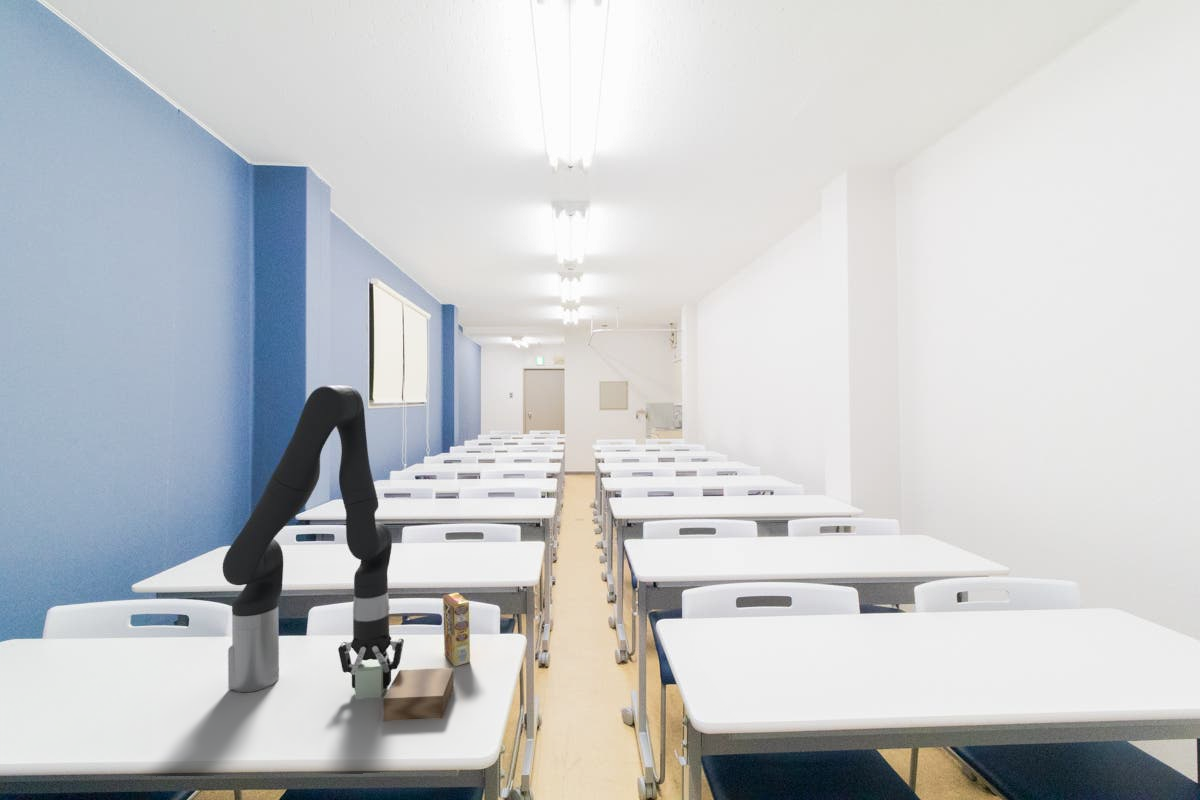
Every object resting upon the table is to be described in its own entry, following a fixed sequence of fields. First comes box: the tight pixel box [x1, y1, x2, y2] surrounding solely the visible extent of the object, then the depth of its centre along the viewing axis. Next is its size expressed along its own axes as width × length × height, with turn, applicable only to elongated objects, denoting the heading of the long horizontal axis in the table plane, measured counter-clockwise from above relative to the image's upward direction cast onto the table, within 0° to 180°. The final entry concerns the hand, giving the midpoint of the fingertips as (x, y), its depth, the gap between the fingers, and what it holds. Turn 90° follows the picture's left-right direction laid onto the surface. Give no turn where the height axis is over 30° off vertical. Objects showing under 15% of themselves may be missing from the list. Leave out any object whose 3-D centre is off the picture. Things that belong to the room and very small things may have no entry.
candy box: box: [442, 592, 471, 667], centre depth 142 cm, size 9×4×15 cm, turn 33°
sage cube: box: [354, 659, 386, 700], centre depth 126 cm, size 6×6×6 cm
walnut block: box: [382, 667, 455, 722], centre depth 121 cm, size 12×12×5 cm
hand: (371, 687), depth 126 cm, fingers closed on sage cube, 5 cm apart
